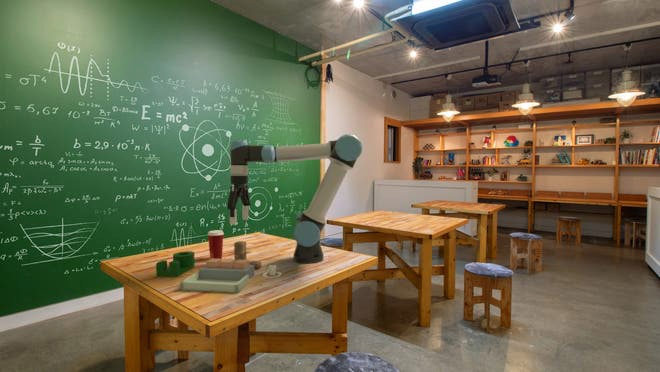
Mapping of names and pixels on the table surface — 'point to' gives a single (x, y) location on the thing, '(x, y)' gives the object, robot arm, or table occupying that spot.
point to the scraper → (244, 254)
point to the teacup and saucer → (272, 271)
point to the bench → (225, 273)
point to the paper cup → (215, 244)
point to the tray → (213, 284)
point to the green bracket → (176, 265)
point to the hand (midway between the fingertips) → (239, 222)
